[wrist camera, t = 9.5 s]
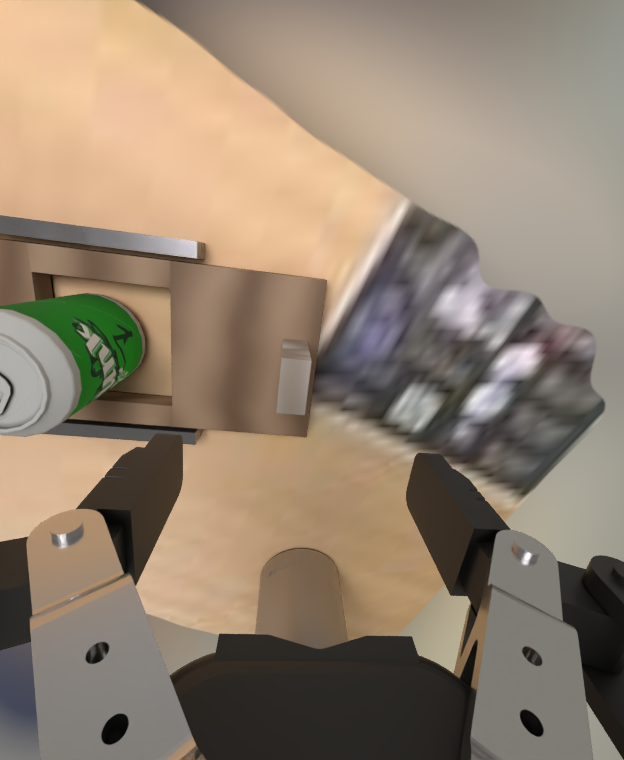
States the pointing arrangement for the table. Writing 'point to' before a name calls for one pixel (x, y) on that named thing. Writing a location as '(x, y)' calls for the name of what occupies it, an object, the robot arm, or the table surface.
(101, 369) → the soda can
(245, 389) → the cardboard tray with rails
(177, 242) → the lane rails
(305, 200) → the table surface
